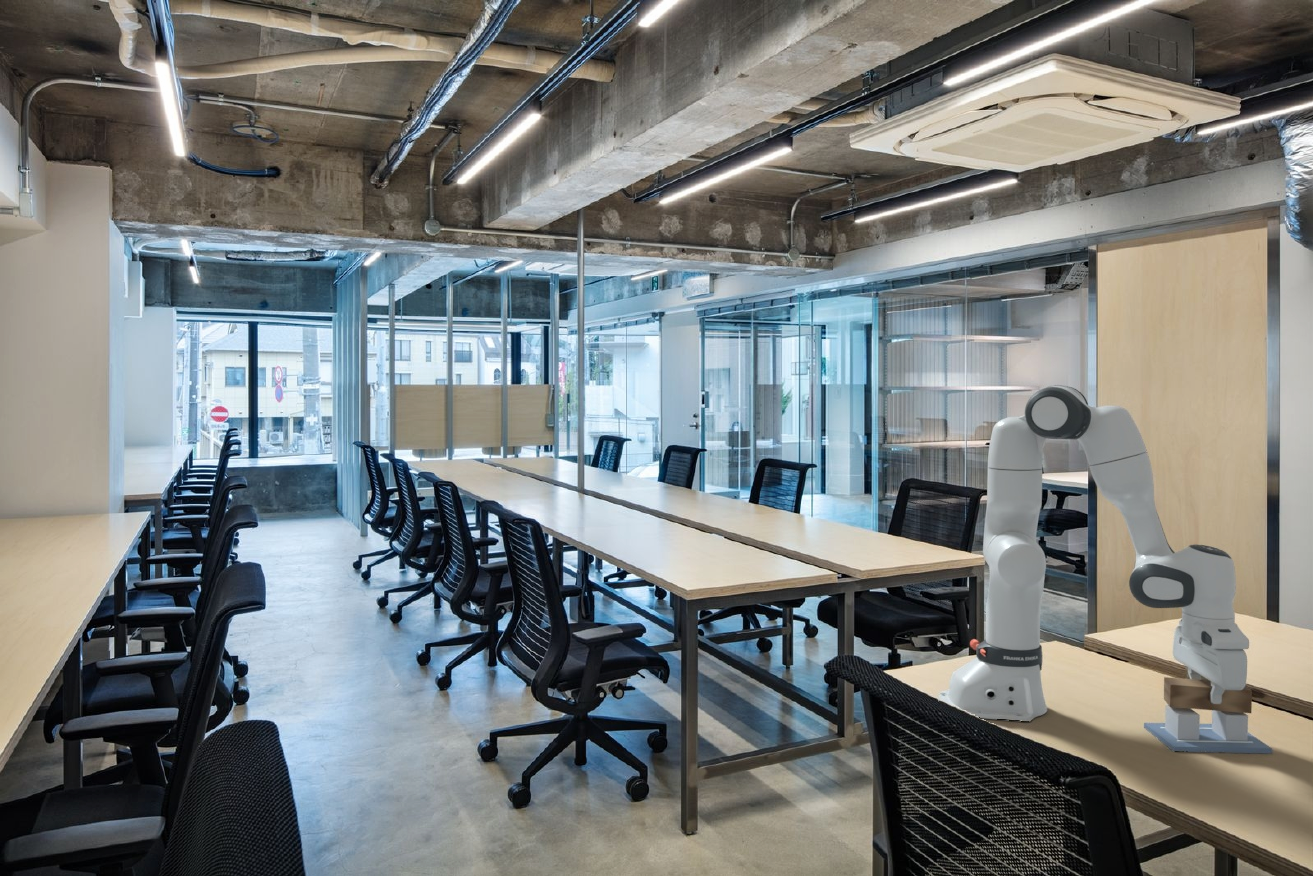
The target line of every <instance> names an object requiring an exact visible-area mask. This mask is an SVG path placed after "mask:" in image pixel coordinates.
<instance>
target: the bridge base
mask: <svg viewBox="0 0 1313 876" xmlns="http://www.w3.org/2000/svg"><path fill="white" fill-rule="evenodd" d="M1211 712H1212V713H1211V723H1200V717H1201V716H1200V714H1199V713H1198V712H1196V711H1195V710H1193V709H1190V708H1177V707H1170V706H1169V705H1168V704H1166V705H1165V712H1164V713H1165V715H1164V716H1165V717H1164V720H1165V722H1144V723H1143V728H1144V729H1145V728H1146V729H1147V731H1148V732H1149V733H1150V732H1151V733H1152V734H1151V733H1150V734H1151V735H1153V737H1155V738H1156V737H1157V738H1158V739H1157V738H1156V739H1157V740H1158V741H1159V742H1161V743H1162V742H1163V743H1164V744H1163V743H1162V744H1163V745H1165V746H1166V747H1167V746H1168V747H1169V748H1168V747H1167V748H1168V749H1169V750H1170V751H1172V752H1173V751H1184V752H1183V753H1219V752H1225V754H1226V753H1227V754H1228V753H1230V754H1231V753H1234V754H1236V753H1237V754H1273V748H1272V747H1271V746H1269V745H1268V744H1266V743H1265V742H1263V741H1261V740H1260V739H1259V738H1257V737H1256V736H1254V735H1252V734H1251V733H1250V732H1249V731H1248V730H1249V715H1248V714H1247V713H1240V712H1228V711H1215V710H1211ZM1146 729H1145V730H1146ZM1186 751H1188V752H1186ZM1200 751H1202V752H1200ZM1205 751H1206V752H1205Z"/></svg>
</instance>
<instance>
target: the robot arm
mask: <svg viewBox="0 0 1313 876" xmlns="http://www.w3.org/2000/svg"><path fill="white" fill-rule="evenodd" d="M1049 440H1073V441H1074V440H1076V441H1077V442H1079V444H1080V445H1081V447H1082V449H1083V452H1084V455H1085V457H1086V461H1087V464H1088V468H1089V471H1090V474H1091V476H1092V478H1093V481H1094V482H1095V485H1096V487H1097V488H1098V490H1099V493H1100V494H1101V495H1102V497H1104V499H1106V500H1107V501H1108V502H1110V503H1111V504H1113V505H1114V506H1115V507H1116V508H1117V509H1118V511H1119V512H1120V514H1121V515H1122V517H1123V519H1124V522H1125V524H1126V527H1127V530H1128V533H1129V536H1130V539H1131V542H1132V545H1133V547H1134V551H1135V561H1134V568H1133V569H1132V572H1131V574H1130V577H1129V582H1128V586H1129V590H1130V593H1131V594H1132V596H1133V597H1134V599H1135V600H1136V601H1137V602H1139V603H1140V604H1141V605H1143V606H1145V607H1148V608H1151V609H1152V608H1153V609H1174V608H1175V609H1177V608H1181V610H1182V611H1181V619H1180V620H1179V621H1178V626H1176V628H1175V630H1174V634H1173V642H1172V655H1173V658H1174V660H1175V661H1177V662H1179V663H1180V664H1182V665H1184V666H1185V667H1186V666H1187V667H1188V674H1189V677H1190V679H1196V680H1202V679H1201V675H1202V676H1203V677H1205V678H1206V679H1208V680H1210V681H1211V686H1212V690H1211V692H1208V700H1209V701H1210V702H1212V703H1213V704H1221V702H1222V695H1223V693H1224V691H1225V690H1242V689H1243V688H1244V687H1245V685H1246V686H1247V676H1248V655H1247V653H1246V650H1249V648H1250V640H1249V638H1248V637H1247V636H1246V635H1245V634H1244V632H1243V631H1242V630H1241V628H1240V627H1239V626H1238V624H1237V623H1236V622H1235V621H1236V614H1235V609H1234V601H1235V600H1234V599H1235V597H1236V587H1237V586H1236V585H1237V584H1236V583H1237V581H1236V568H1235V563H1234V560H1233V558H1232V556H1231V555H1230V554H1228V553H1227V552H1226V551H1224V550H1222V549H1220V548H1217V547H1214V546H1209V545H1203V544H1189V545H1188V546H1187V547H1185V548H1183V549H1181V550H1179V551H1177V552H1175V551H1174V550H1173V548H1172V547H1171V546H1170V545H1169V542H1168V540H1167V538H1166V537H1167V536H1166V535H1165V534H1166V533H1165V531H1164V529H1163V526H1162V522H1161V520H1160V517H1159V513H1158V510H1157V508H1156V502H1155V489H1154V488H1155V487H1154V475H1153V470H1152V465H1151V460H1150V455H1149V454H1148V450H1147V447H1146V445H1145V441H1144V439H1143V437H1142V434H1141V432H1140V430H1139V428H1138V426H1137V424H1136V423H1135V420H1134V419H1133V417H1132V415H1131V413H1130V412H1129V411H1128V410H1127V409H1126V408H1124V407H1122V406H1121V405H1120V406H1118V405H1113V404H1112V405H1111V404H1110V405H1109V404H1108V405H1101V406H1098V407H1097V406H1096V407H1094V406H1093V407H1092V406H1090V405H1089V403H1088V400H1087V399H1086V396H1085V395H1083V393H1082V392H1081V391H1079V390H1078V389H1077V388H1074V387H1071V386H1068V385H1061V384H1055V385H1049V386H1045V387H1044V388H1042V389H1039V390H1037V391H1036V392H1035V393H1033V394H1032V395H1031V396H1030V397H1029V399H1028V400H1027V402H1026V404H1025V408H1024V414H1023V415H1020V416H1008V417H1004V418H1002V419H1000V420H999V421H997V422H996V423H995V424H994V426H993V427H992V432H991V435H990V441H989V447H988V455H987V456H988V457H987V486H986V487H987V488H986V489H987V490H986V491H987V493H986V495H987V496H986V510H985V519H984V528H983V529H984V531H983V542H982V544H983V545H982V555H983V558H984V561H985V562H986V564H987V566H988V569H989V578H988V579H989V580H988V591H987V597H986V598H987V599H986V604H985V639H984V640H983V641H981V642H979V640H978V639H975V638H973V639H971V640H970V642H969V646H970V648H972V649H973V650H974V651H976V654H975V655H976V656H975V657H974V658H972V659H971V660H969V661H968V662H967V663H965V664H964V665H962V666H960V667H959V668H957V669H955V670H954V671H953V673H952V674H951V677H950V679H949V685H948V689H946V690H944V689H943V690H941V691H940V692H939V693H938V698H937V699H939V700H943V701H945V702H946V703H948V704H950V705H954V706H956V707H958V708H960V709H961V710H966V711H967V712H969V713H971V714H975V716H978V717H980V718H979V719H986V720H997V719H1013V720H1022V721H1029V722H1031V720H1032V719H1033V720H1034V718H1037V717H1040V716H1042V715H1045V714H1046V713H1047V712H1048V706H1047V704H1046V700H1045V695H1044V690H1043V684H1042V676H1041V675H1042V674H1041V671H1042V669H1043V668H1042V667H1043V648H1042V645H1041V642H1040V641H1041V639H1040V638H1041V606H1042V600H1043V595H1044V588H1045V587H1044V585H1045V578H1046V575H1045V574H1046V570H1047V568H1046V567H1047V559H1046V555H1045V552H1044V550H1043V549H1042V547H1041V546H1040V544H1038V543H1037V533H1038V523H1039V516H1040V512H1041V509H1042V503H1043V502H1042V499H1043V456H1044V455H1043V454H1044V447H1045V446H1046V443H1047V442H1048V441H1049ZM939 700H938V701H939ZM1033 720H1032V721H1033Z"/></svg>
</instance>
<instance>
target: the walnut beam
mask: <svg viewBox="0 0 1313 876" xmlns="http://www.w3.org/2000/svg"><path fill="white" fill-rule="evenodd" d="M1211 690H1212V686H1211V681H1210V680H1196V679H1186V678H1180V677H1168V676H1167V677H1166V676H1165V677H1163V700H1164V701H1165V703H1166V705H1169V706H1170V707H1177V708H1190V709H1192V710H1193V709H1194V710H1204V711H1212V710H1215V711H1228V712H1240V713H1245V714H1252V707H1253V706H1252V702H1253V690H1252V689H1251V688H1250V687H1249V686H1248V685H1247V684H1246V685H1245V687H1244V688H1243V689H1242V690H1225V691H1224V693H1223V695H1222V702H1221V704H1213V703H1212V702H1210V701H1209V700H1208V692H1211Z"/></svg>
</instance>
